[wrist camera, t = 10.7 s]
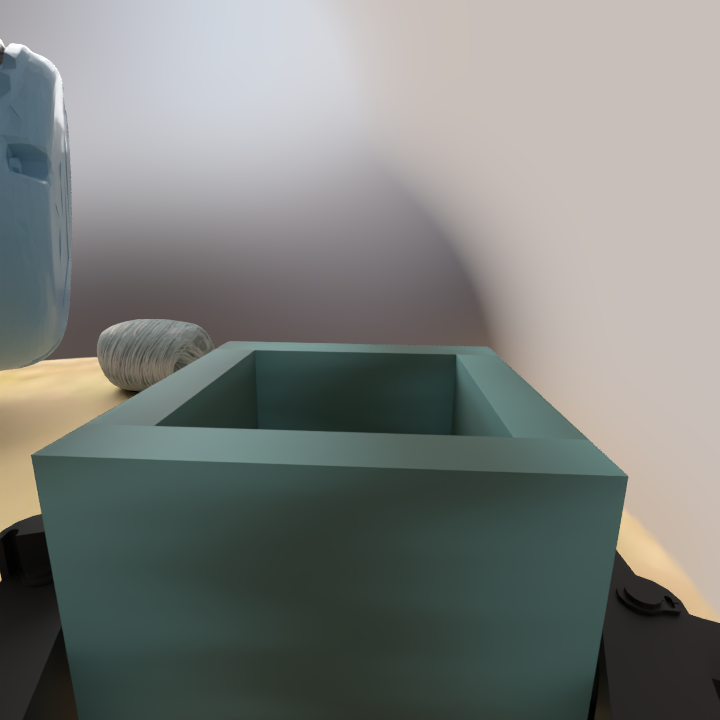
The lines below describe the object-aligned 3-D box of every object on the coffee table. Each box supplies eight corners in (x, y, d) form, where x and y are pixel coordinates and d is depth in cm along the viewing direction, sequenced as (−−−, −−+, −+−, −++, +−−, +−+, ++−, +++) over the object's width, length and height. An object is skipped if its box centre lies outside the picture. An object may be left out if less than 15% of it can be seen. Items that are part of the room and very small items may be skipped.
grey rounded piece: (245, 355, 55) (199, 286, 49) (209, 410, 48) (151, 338, 42) (164, 371, 60) (115, 310, 55) (120, 423, 53) (59, 360, 48)
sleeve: (126, 983, 8) (30, 454, 5) (247, 641, 15) (228, 341, 12) (535, 1023, 7) (628, 476, 5) (463, 653, 14) (488, 347, 12)
